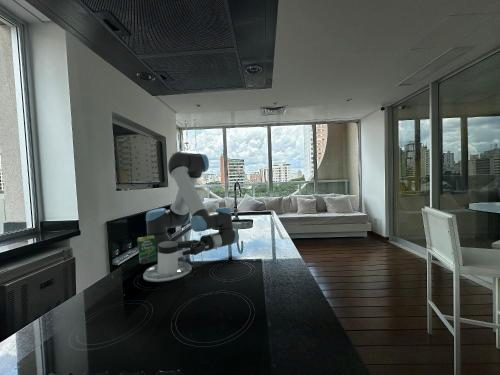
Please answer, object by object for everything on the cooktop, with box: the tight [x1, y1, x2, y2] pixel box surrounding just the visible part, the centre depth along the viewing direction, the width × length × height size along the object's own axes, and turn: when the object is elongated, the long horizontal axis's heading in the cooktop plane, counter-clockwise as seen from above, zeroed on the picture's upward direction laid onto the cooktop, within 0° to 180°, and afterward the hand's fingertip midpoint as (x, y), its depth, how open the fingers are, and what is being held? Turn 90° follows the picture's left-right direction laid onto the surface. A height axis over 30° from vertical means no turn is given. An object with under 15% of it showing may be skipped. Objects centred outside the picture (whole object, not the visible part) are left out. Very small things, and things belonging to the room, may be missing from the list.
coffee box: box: [137, 235, 158, 265], centre depth 128 cm, size 8×3×13 cm, turn 117°
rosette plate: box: [142, 260, 192, 283], centre depth 111 cm, size 20×20×2 cm
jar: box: [157, 240, 179, 275], centre depth 107 cm, size 9×8×12 cm
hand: (168, 252), depth 111 cm, fingers open, 13 cm apart
